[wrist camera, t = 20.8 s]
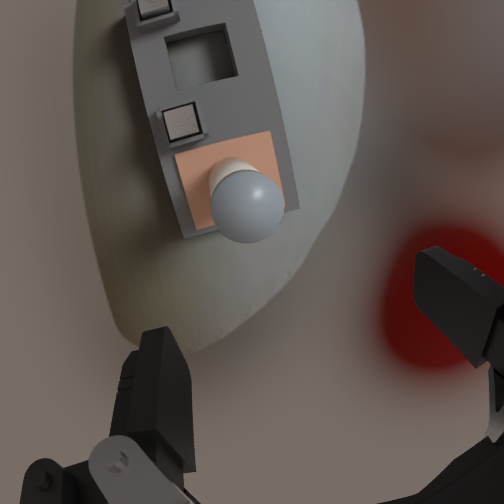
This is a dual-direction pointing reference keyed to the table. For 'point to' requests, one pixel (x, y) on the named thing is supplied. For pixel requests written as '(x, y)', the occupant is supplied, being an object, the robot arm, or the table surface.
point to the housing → (211, 104)
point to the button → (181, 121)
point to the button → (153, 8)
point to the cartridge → (244, 201)
